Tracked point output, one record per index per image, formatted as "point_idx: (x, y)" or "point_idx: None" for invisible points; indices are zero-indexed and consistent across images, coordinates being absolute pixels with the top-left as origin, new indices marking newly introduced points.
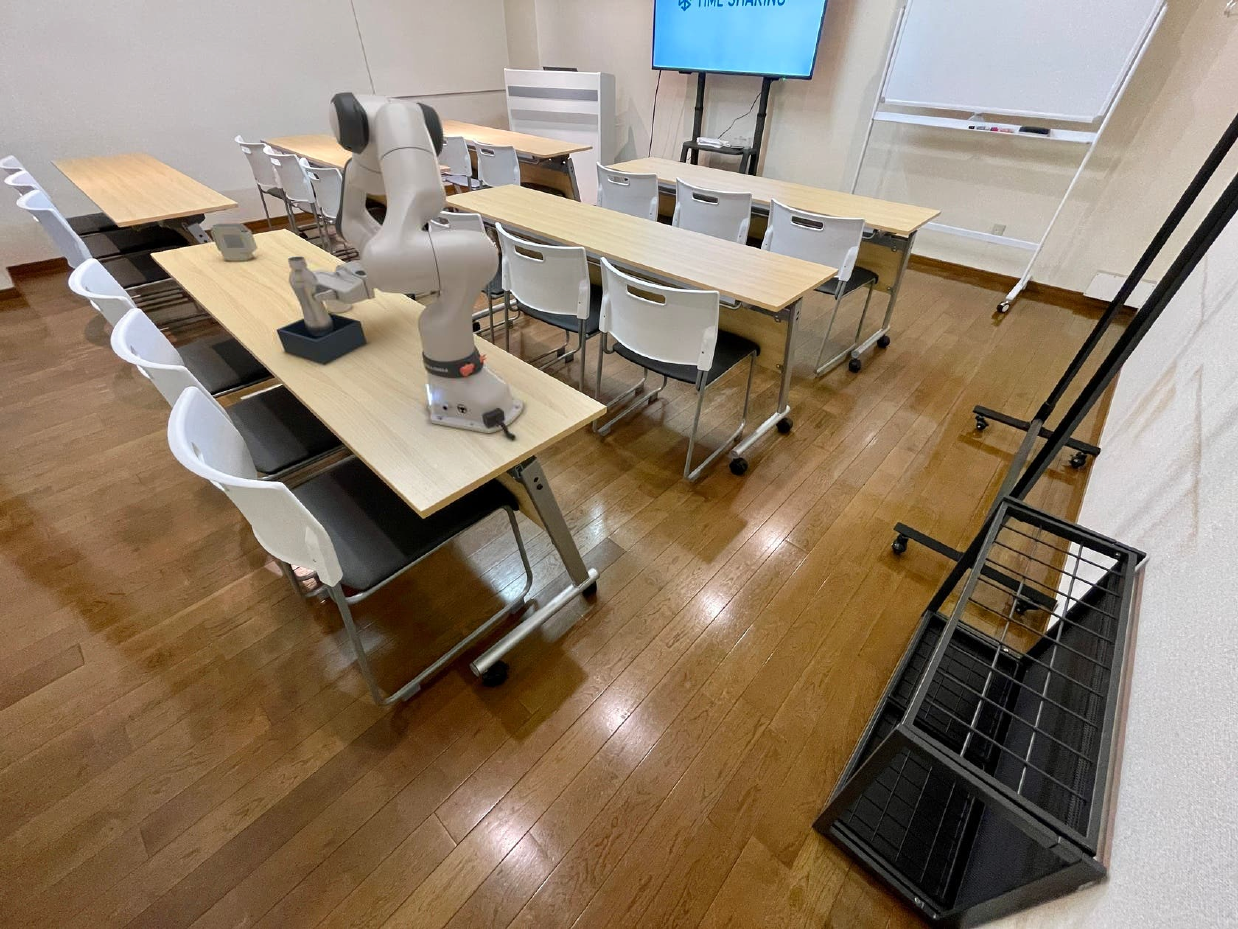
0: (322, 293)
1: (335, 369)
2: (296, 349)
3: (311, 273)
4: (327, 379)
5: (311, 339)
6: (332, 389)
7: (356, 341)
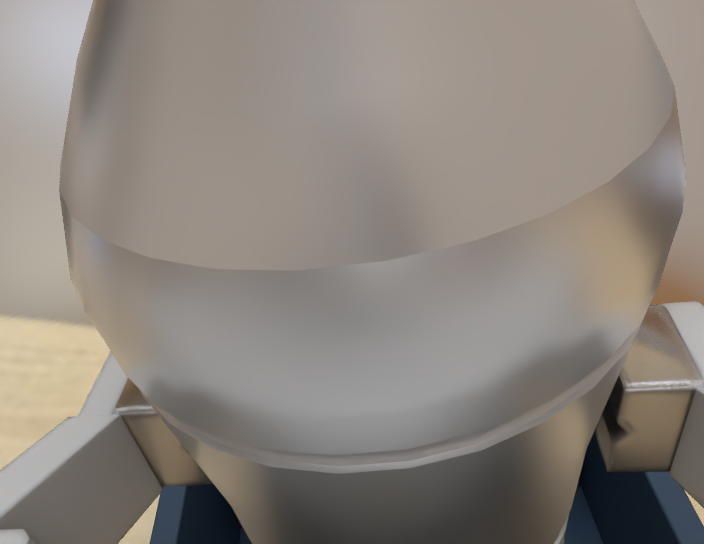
0: (55, 427)
1: None
2: None
3: (86, 99)
4: None
5: None
6: (24, 404)
7: None
